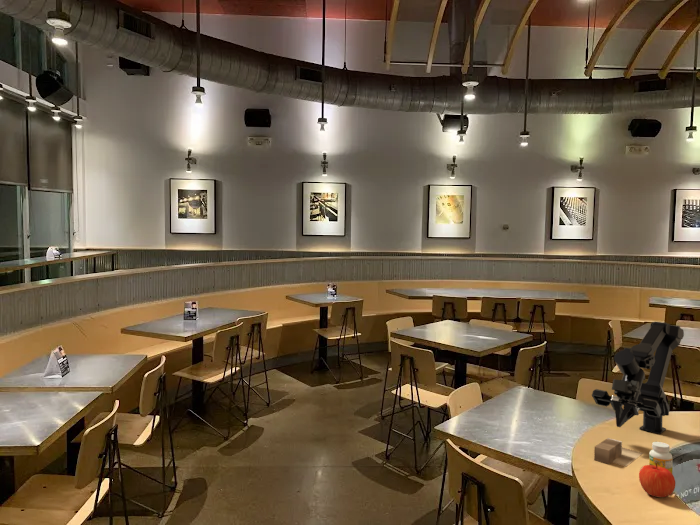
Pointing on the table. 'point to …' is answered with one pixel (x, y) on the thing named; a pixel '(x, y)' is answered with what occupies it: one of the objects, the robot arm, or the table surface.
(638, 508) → the table surface
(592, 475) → the table surface
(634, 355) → the robot arm
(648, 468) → the apple
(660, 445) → the supplement bottle
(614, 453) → the walnut block
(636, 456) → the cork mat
